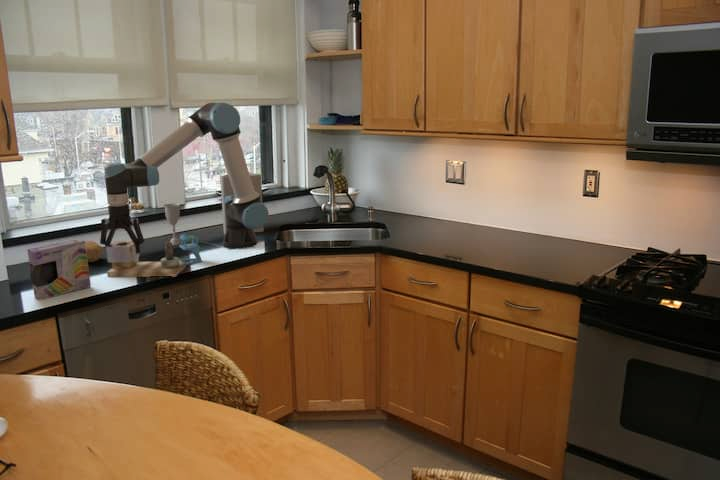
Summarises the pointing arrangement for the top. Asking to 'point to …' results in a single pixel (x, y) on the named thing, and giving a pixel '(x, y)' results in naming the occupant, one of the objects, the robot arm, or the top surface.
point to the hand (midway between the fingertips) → (124, 261)
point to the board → (148, 266)
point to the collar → (120, 252)
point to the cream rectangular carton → (227, 191)
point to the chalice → (172, 219)
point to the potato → (93, 251)
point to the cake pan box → (59, 268)
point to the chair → (190, 248)
